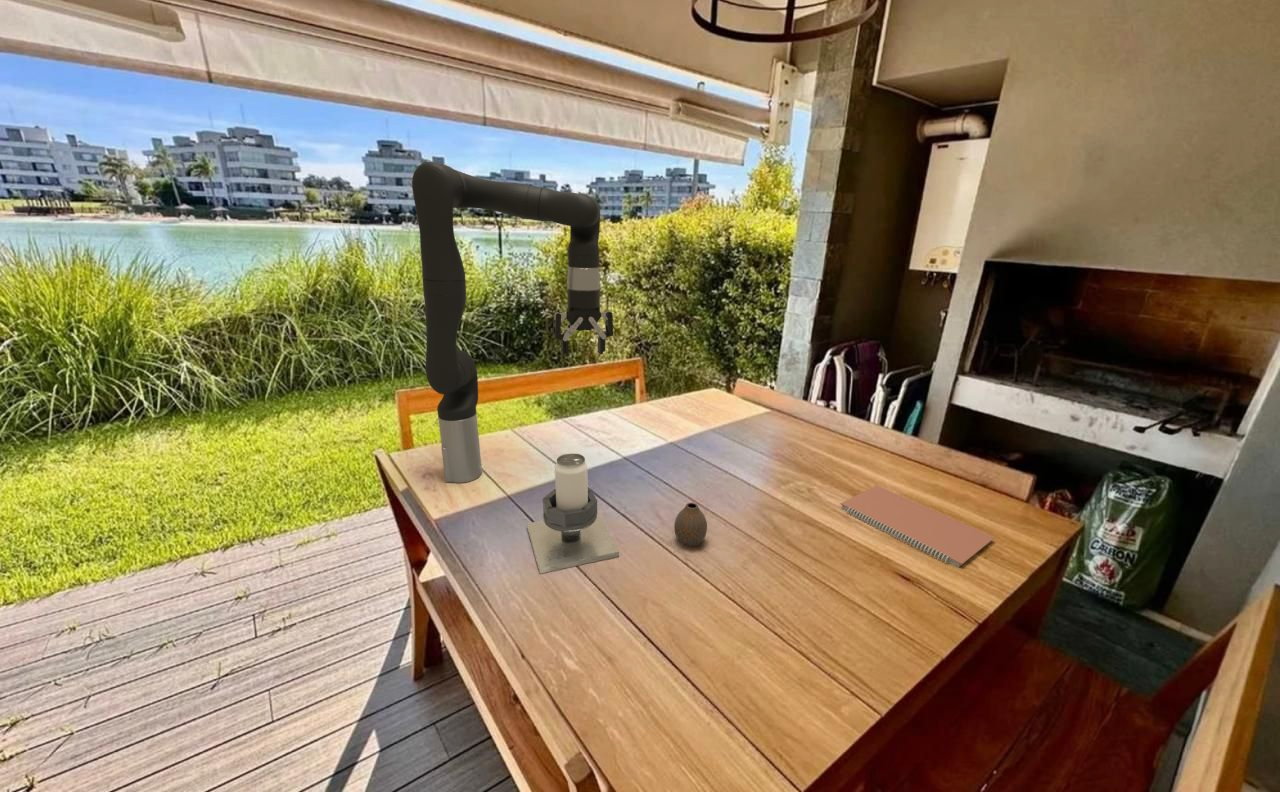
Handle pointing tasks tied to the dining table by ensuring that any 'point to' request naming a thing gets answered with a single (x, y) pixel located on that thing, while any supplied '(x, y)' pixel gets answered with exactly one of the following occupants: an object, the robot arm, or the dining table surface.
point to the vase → (690, 525)
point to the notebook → (917, 525)
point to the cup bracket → (570, 536)
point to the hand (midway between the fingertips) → (583, 354)
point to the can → (571, 482)
